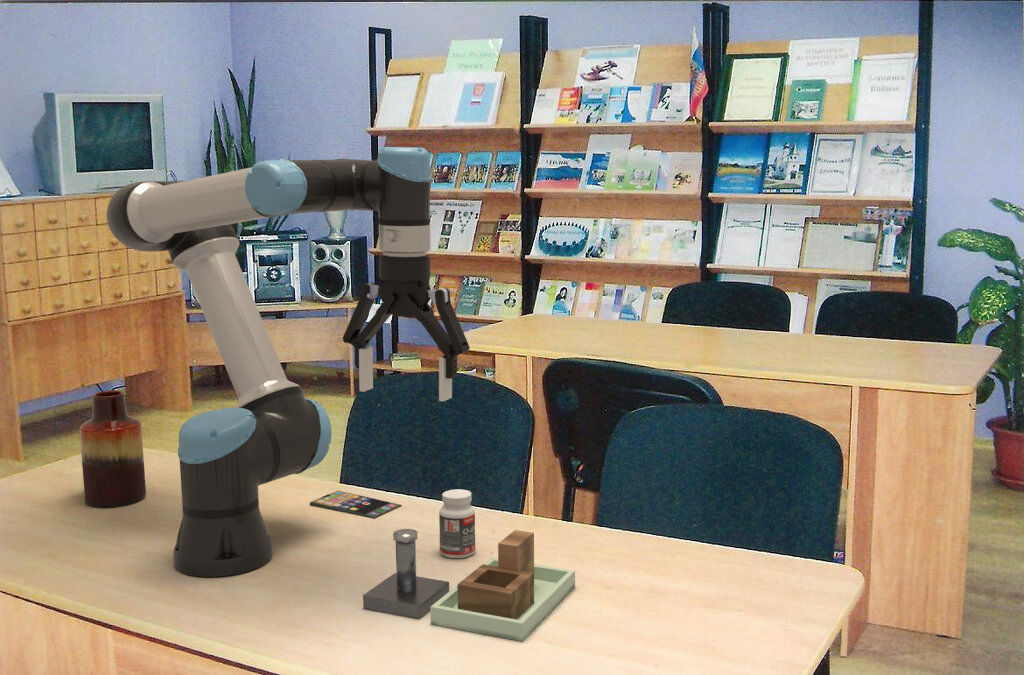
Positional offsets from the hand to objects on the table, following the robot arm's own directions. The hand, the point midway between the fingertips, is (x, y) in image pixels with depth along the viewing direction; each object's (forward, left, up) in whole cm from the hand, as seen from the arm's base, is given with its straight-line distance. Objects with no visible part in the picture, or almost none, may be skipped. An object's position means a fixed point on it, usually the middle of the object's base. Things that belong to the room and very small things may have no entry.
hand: (405, 394), depth 160 cm
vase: (-68, +9, -28) cm, 74 cm away
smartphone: (-24, +23, -28) cm, 44 cm away
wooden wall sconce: (+19, -7, -27) cm, 34 cm away
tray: (+19, -6, -28) cm, 34 cm away
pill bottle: (+4, +9, -28) cm, 30 cm away
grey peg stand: (+6, -11, -28) cm, 30 cm away
